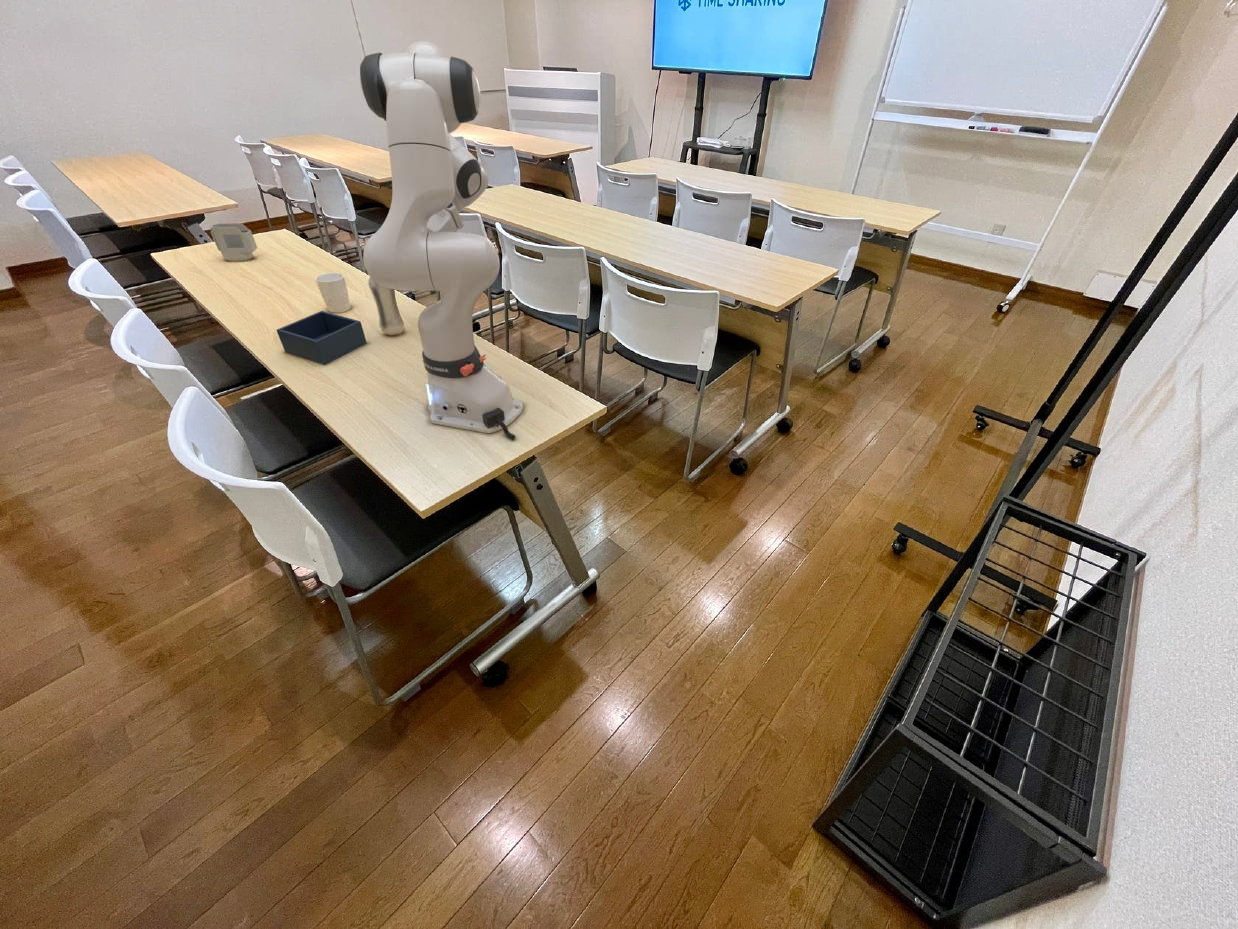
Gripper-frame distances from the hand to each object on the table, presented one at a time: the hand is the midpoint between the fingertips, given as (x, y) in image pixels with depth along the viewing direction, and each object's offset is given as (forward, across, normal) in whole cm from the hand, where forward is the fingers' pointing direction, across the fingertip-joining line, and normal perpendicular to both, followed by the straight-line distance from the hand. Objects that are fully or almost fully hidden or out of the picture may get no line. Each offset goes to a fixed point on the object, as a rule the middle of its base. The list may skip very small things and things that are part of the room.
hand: (402, 234), depth 141 cm
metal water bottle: (+19, +4, +20) cm, 28 cm away
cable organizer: (+27, -90, +34) cm, 100 cm away
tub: (+35, -1, +14) cm, 38 cm away
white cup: (+22, -24, +24) cm, 40 cm away
